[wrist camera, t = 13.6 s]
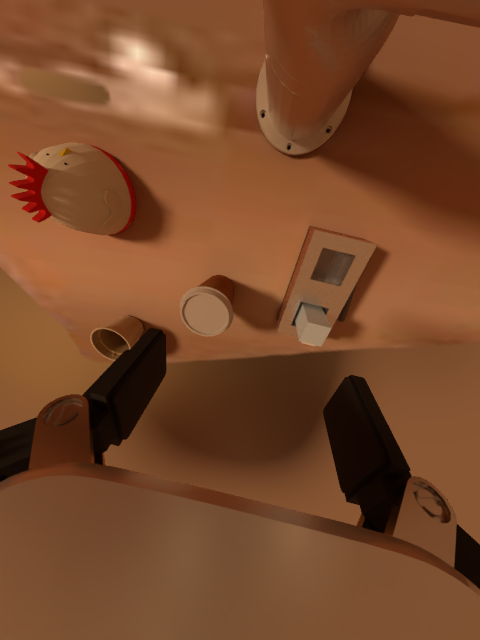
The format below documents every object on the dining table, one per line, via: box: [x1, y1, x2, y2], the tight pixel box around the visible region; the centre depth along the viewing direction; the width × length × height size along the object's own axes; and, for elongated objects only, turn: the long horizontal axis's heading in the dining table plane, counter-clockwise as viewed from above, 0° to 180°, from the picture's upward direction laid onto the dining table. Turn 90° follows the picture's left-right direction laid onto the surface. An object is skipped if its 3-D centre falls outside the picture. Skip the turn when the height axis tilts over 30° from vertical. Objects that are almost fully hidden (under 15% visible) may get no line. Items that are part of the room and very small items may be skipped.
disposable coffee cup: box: [180, 275, 234, 337], centre depth 39 cm, size 10×10×12 cm
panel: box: [276, 226, 377, 343], centre depth 39 cm, size 20×10×5 cm, turn 168°
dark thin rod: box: [339, 283, 357, 322], centre depth 40 cm, size 15×1×1 cm, turn 178°
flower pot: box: [90, 316, 144, 361], centre depth 49 cm, size 9×9×9 cm
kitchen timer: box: [8, 142, 136, 235], centre depth 32 cm, size 14×14×15 cm
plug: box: [295, 302, 331, 347], centre depth 39 cm, size 5×4×10 cm
